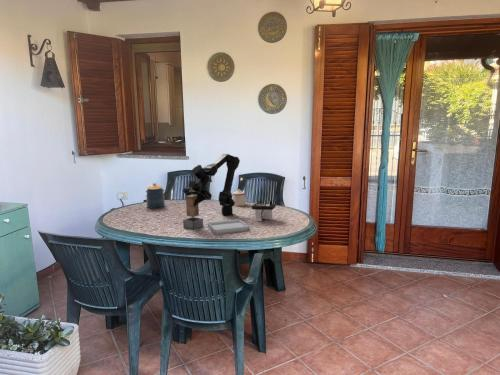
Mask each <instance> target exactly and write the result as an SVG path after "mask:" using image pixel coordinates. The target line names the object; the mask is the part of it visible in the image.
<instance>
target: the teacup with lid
mask: <svg viewBox="0 0 500 375" xmlns="http://www.w3.org/2000/svg"><path fill="white" fill-rule="evenodd" d="M232 199H233V201H234V202H235V204H234V206H235V207H243V206H245V205H246V193H245V191H243V190H241V189H240V188H238V189H237V190H235V191H234V192H232ZM234 206H233V207H234Z"/></svg>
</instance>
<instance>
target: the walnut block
mask: <svg viewBox="0 0 500 375" xmlns="http://www.w3.org/2000/svg"><path fill="white" fill-rule="evenodd" d="M196 199H197V195H195V194H193V195H188V196H187V195H185V205H186V206H185V207H186V208H185V209H186V217H189V218H191V217H198V216H200V215H199V214H200V210H199V204H197V205H196V206H194V203H195V201H196Z"/></svg>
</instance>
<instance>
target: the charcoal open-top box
mask: <svg viewBox="0 0 500 375" xmlns="http://www.w3.org/2000/svg"><path fill="white" fill-rule="evenodd" d="M182 223H183V224H182V227H183V228H184V229H191V230H196V229H198V228H202V227H204V219H203V218H202V217H197V216H195V217H189V218H185V219H183V220H182Z"/></svg>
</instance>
